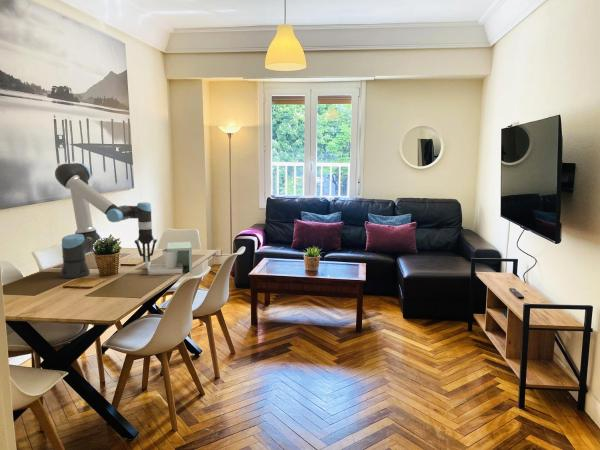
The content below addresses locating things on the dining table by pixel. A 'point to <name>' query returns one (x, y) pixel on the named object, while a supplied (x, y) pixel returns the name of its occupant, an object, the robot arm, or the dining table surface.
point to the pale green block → (182, 253)
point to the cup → (170, 258)
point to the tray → (163, 269)
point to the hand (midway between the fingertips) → (147, 267)
